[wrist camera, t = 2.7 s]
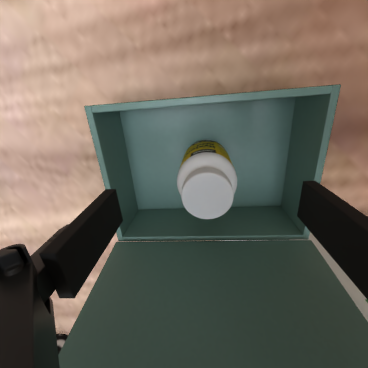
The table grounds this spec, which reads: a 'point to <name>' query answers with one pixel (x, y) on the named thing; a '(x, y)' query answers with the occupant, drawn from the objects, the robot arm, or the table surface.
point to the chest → (237, 151)
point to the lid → (217, 309)
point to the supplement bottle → (207, 180)
